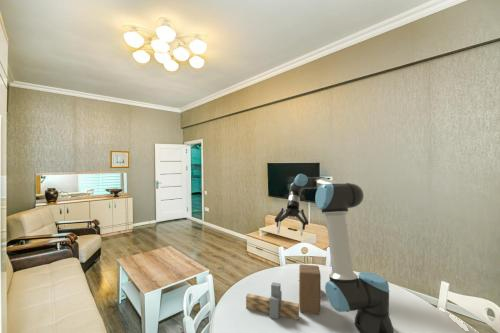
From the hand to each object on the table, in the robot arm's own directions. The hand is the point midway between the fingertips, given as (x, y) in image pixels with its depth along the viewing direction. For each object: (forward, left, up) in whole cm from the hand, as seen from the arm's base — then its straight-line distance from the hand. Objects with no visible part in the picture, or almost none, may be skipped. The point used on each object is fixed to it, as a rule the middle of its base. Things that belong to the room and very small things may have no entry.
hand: (289, 233), depth 133 cm
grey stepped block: (-7, +23, -33) cm, 40 cm away
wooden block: (-17, +8, -33) cm, 38 cm away
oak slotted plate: (-5, +24, -33) cm, 41 cm away
